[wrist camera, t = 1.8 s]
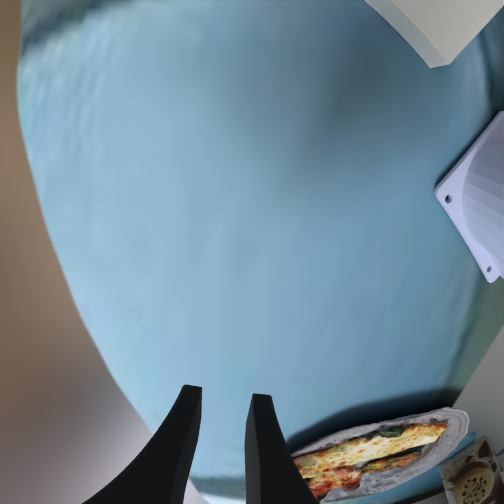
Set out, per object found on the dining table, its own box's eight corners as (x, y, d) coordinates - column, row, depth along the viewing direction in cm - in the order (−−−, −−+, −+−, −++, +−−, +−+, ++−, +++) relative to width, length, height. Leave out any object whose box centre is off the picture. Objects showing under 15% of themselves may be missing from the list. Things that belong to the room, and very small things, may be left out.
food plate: (264, 496, 34) (265, 516, 30) (260, 416, 24) (260, 449, 21) (421, 469, 33) (427, 486, 30) (488, 373, 23) (503, 395, 20)
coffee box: (484, 434, 29) (515, 514, 14) (491, 440, 31) (519, 511, 16) (435, 465, 32) (458, 545, 17) (447, 468, 34) (468, 539, 19)
